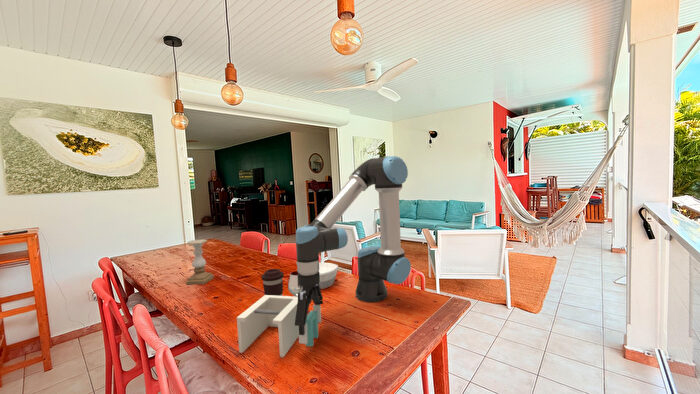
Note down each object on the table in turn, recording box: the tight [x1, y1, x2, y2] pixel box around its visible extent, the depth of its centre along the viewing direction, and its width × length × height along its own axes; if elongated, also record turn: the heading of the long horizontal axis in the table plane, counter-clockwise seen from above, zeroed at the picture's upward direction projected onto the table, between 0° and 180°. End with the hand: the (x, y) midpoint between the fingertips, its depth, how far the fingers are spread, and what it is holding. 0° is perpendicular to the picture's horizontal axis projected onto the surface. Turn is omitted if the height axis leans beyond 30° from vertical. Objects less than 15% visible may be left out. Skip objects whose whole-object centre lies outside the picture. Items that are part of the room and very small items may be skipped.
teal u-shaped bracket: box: [304, 310, 319, 348], centre depth 97 cm, size 2×6×9 cm, turn 167°
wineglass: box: [287, 270, 302, 297], centre depth 116 cm, size 8×8×18 cm
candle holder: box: [185, 238, 215, 286], centre depth 163 cm, size 11×11×24 cm
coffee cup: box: [261, 268, 284, 296], centre depth 129 cm, size 10×10×15 cm
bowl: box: [319, 261, 339, 290], centre depth 149 cm, size 18×18×9 cm
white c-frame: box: [236, 294, 299, 358], centre depth 99 cm, size 16×18×12 cm
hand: (310, 331), depth 97 cm, fingers open, 13 cm apart
